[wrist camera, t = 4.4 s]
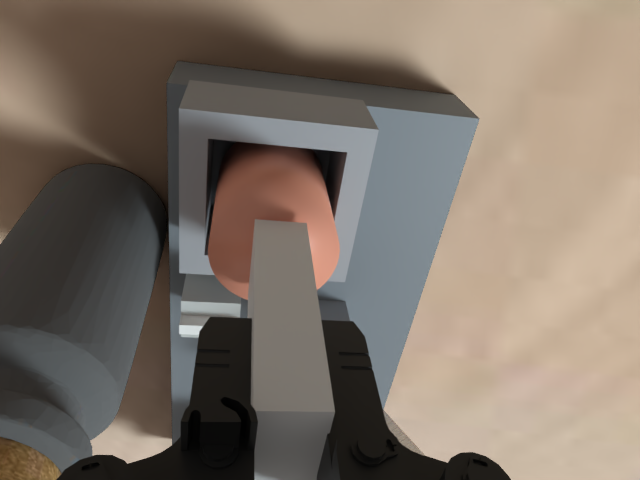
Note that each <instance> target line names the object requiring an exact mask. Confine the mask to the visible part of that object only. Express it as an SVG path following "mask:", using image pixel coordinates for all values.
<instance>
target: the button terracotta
mask: <svg viewBox="0 0 640 480" xmlns="http://www.w3.org/2000/svg"><path fill="white" fill-rule="evenodd" d="M255 219H259V220H273V221H286V222H300V223H307V229H308V235H309V242H310V248H311V255H312V262H313V268H314V275H315V282H316V288H317V290H318V289H319V288H320V287H322V286H323V285H324V284H325V283H326V282H327V280H328V279H329V278H330V277H331V275H332V274H333V272H334V270H335V268H336V266H337V263H338V259H339V253H340V244H339V239H338V234H337V230H336V226H335V222H334V218H333V214H332V209H331V205H330V201H329V197H328V193H327V189H326V185H325V180H324V176H323V172H322V168H321V164H320V162H319V159H318V157H317V155H316V154H315V152H314V151H313V150H312V149H308V148H298V147H288V146H278V145H268V144H257V143H247V142H236V143H234V144H233V145H232V146H231V147H230V148H229V150H228V151H227V152H226V154H225V155H224V157H223V159H222V162H221V164H220V168H219V174H218V182H217V189H216V196H215V203H214V210H213V217H212V224H211V231H210V238H209V245H208V258H209V263H210V266H211V269H212V271H213V273H214V275H215V276H216V278H217V279H218V280H219V282H220V283H221V284H222V285H223V286H224V287H225V288H226V289H228V290H229V291H230V292H232V293H234V294H235V295H237V296H239V297H241V298H243V299H246V300H248V288H249V277H250V267H251V256H252V245H253V234H254V223H255Z"/></svg>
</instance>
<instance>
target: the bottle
mask: <svg viewBox="0 0 640 480" xmlns="http://www.w3.org/2000/svg"><path fill="white" fill-rule="evenodd" d="M166 234H167V215H166V212H165V208H164V206H163V204H162V202H161V200H160V198H159V197H158V195H157V194H156V193H155V192H154V191H153V189H152V188H151V187H150V186H149V185H148V184H147V183H146V182H144V181H143V180H141V179H140V178H138V177H137V176H135V175H134V174H132V173H130V172H128V171H126V170H123V169H120V168H118V167H113V166H109V165H104V164H85V165H79V166H74V167H71V168H69V169H66V170H64V171H62V172H61V173H59V174H57V175H56V176H54V177H53V178H52V179H51V180H50V181H49V182H48V183H47V184H46V185H45V187H44V188H43V189H42V190H41V192H40V193H39V194H38V196H37V197H36V198H35V199H34V201H33V202H32V203H31V205H30V206H29V207H28V208H27V210H26V211H25V212H24V214H23V215H22V216H21V218H20V219H19V220H18V222H17V223H16V224H15V226H14V227H13V228H12V230H11V231H10V232H9V234H8V235H7V236H6V238H5V239H4V240H3V242H2V243H1V244H0V480H56V479H57V478H58V477H59V476H60V475H61V474H62V472H63V471H64V470H65V469H66V468H68V467H69V466H71V465H73V464H74V463H76V462H77V461H79V460H80V459H84V458H87V457H91V456H92V446H91V443H90V440H92V439H93V438H95V437H97V436H98V435H99V434H100V433H102V432H103V431H104V430H105V429H106V428H107V427H108V426H109V425H110V424H111V423H112V422H113V420H114V418H115V416H116V414H117V412H118V410H119V407H120V404H121V401H122V397H123V394H124V391H125V387H126V384H127V380H128V377H129V373H130V370H131V366H132V363H133V359H134V356H135V352H136V348H137V345H138V341H139V337H140V334H141V330H142V326H143V323H144V319H145V315H146V311H147V308H148V304H149V300H150V297H151V293H152V289H153V286H154V282H155V278H156V275H157V271H158V267H159V263H160V259H161V255H162V251H163V247H164V243H165V239H166Z"/></svg>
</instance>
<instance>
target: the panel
mask: <svg viewBox="0 0 640 480" xmlns="http://www.w3.org/2000/svg"><path fill="white" fill-rule="evenodd" d="M478 122H479V118H478V117H477V116H476V115H475V114H474V113H473V112H472V111H471V110H470V109H469V108H468V107H467V106H466V105H465V104H464V103H463V102H462V101H461V100H460V99H459V98H458V97H457V96H456V95H452V94H444V93H436V92H427V91H419V90H411V89H403V88H395V87H386V86H378V85H370V84H362V83H354V82H346V81H337V80H329V79H321V78H313V77H305V76H296V75H288V74H280V73H272V72H264V71H256V70H247V69H239V68H231V67H223V66H215V65H207V64H198V63H190V62H182V61H177V63H176V65H175V67H174V69H173V71H172V73H171V75H170V77H169V79H168V81H167V142H168V205H169V268H170V331H171V394H172V445H173V444H174V443H175V442H176V441H177V440H178V439H179V438H180V436H181V419H182V417H183V414H184V411H185V409H186V408H187V407H188V406H189V404H190V397H191V389H192V382H193V375H194V367H195V360H196V353H197V345H198V338H194V337H181V334H179V323H180V318H181V298H182V293H183V288H184V283H185V277H186V274H203V275H214V273H213V271H212V269H211V266H210V263H209V258H208V245H209V238H210V231H211V224H212V217H213V210H214V203H215V196H216V189H217V182H218V174H219V168H220V164H221V162H222V159H223V157H224V155H225V154H226V152H227V151H228V150H229V148H230V147H231V146H232V145H233V144H234V143H236V142H247V143H257V144H268V145H278V146H288V147H298V148H308V149H312V150H313V151H314V152H315V154H316V155H317V157H318V159H319V162H320V164H321V168H322V172H323V176H324V180H325V185H326V189H327V193H328V197H329V201H330V205H331V209H332V214H333V218H334V222H335V226H336V230H337V234H338V239H339V244H340V253H339V259H338V263H337V266H336V268H335V270H334V272H333V274H332V275H331V277H330V278H329V279H328V280H327V282H326V283H325V284H324V285H323V286H322V287H320V288H319V289H318V290H317V295H318V302H319V308H320V315H321V320H335V321H353V322H354V323H355V324H356V325H357V327H358V328H359V329H360V331H361V332H362V333H363V335H364V336H365V339H366V343H367V347H368V351H369V356H370V359H371V363H372V370H373V371H374V376H375V380H376V384H377V388H378V392H379V396H380V400H381V404H382V408H383V409H384V406H385V403H386V400H387V397H388V394H389V391H390V388H391V385H392V382H393V379H394V376H395V372H396V369H397V366H398V363H399V360H400V357H401V354H402V351H403V348H404V345H405V342H406V339H407V336H408V333H409V330H410V327H411V324H412V321H413V318H414V315H415V312H416V309H417V306H418V303H419V300H420V297H421V294H422V291H423V288H424V285H425V282H426V279H427V276H428V273H429V270H430V267H431V264H432V261H433V258H434V255H435V252H436V249H437V246H438V243H439V240H440V237H441V234H442V231H443V228H444V224H445V221H446V218H447V215H448V212H449V209H450V206H451V203H452V200H453V197H454V194H455V191H456V188H457V185H458V182H459V179H460V176H461V173H462V170H463V167H464V164H465V161H466V158H467V155H468V152H469V149H470V146H471V143H472V140H473V137H474V134H475V131H476V128H477V125H478ZM247 316H248V300H246V299H243V298H241V310H240V318H247Z"/></svg>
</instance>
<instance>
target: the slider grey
mask: <svg viewBox="0 0 640 480" xmlns="http://www.w3.org/2000/svg"><path fill="white" fill-rule="evenodd" d="M240 310H241V297H239V296H237V295H235V294H234V293H232V292H230V291H229V290H228V289H226V288H225V287H224V286H223V285H222V284H221V283H220V282H219V280H218V279H217V278H216V276H215V275H203V274H186V277H185V283H184V288H183V293H182V298H181V318H180V323H179V334H181V337H194V338H199V331H200V330H201V329H202V327H203V326H204V325H205V323H206V322H207V320H208V319H209V318H210V317H232V318H240Z"/></svg>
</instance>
